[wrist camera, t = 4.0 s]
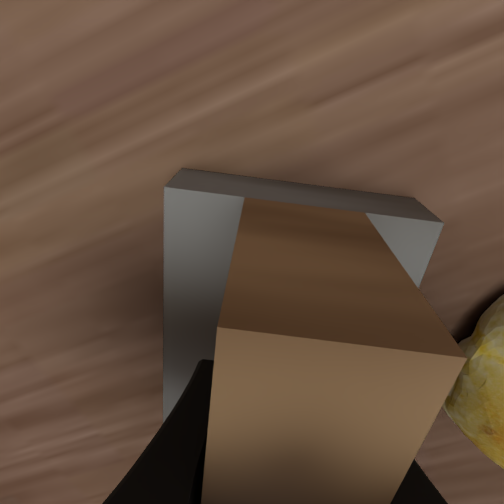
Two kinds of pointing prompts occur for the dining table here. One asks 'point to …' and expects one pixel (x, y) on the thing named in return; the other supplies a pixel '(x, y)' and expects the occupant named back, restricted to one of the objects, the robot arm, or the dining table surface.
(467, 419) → the bread roll
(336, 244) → the scraper
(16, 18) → the dining table surface
